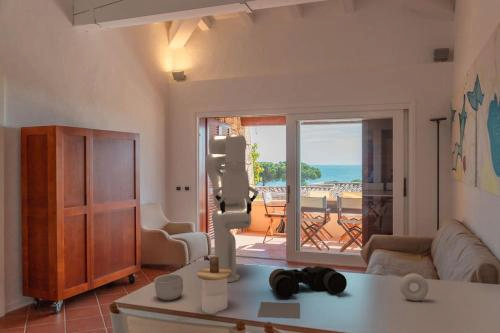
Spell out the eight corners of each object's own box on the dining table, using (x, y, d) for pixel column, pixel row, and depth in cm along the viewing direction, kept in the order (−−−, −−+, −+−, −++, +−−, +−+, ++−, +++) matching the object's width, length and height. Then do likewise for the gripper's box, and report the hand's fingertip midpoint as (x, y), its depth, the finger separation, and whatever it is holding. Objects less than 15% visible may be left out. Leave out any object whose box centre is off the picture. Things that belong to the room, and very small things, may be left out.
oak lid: (201, 270, 145) (201, 253, 145) (233, 270, 144) (233, 254, 144) (193, 279, 134) (193, 261, 133) (228, 280, 132) (228, 262, 132)
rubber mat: (261, 304, 143) (261, 301, 143) (299, 305, 141) (299, 303, 141) (257, 319, 129) (257, 316, 129) (299, 320, 127) (299, 318, 127)
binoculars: (275, 302, 144) (275, 274, 144) (262, 289, 164) (261, 265, 164) (347, 295, 150) (346, 269, 151) (326, 284, 170) (325, 260, 170)
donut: (427, 299, 145) (427, 272, 145) (429, 303, 142) (429, 275, 142) (399, 298, 148) (398, 271, 147) (400, 301, 144) (400, 274, 144)
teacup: (176, 303, 144) (176, 282, 144) (149, 301, 147) (149, 280, 147) (190, 291, 158) (189, 271, 158) (164, 290, 160) (164, 270, 160)
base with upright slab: (207, 315, 133) (207, 280, 133) (198, 307, 141) (198, 273, 141) (231, 310, 137) (231, 276, 137) (221, 302, 145) (221, 270, 145)
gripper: (210, 168, 144) (210, 214, 145) (256, 168, 141) (257, 215, 142) (215, 167, 152) (215, 211, 152) (259, 167, 149) (260, 212, 149)
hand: (235, 213), depth 147 cm, fingers open, 9 cm apart
